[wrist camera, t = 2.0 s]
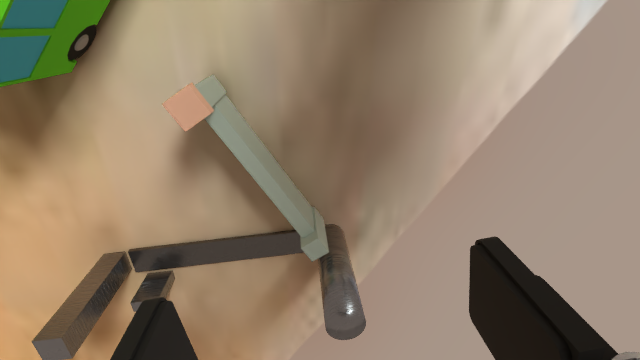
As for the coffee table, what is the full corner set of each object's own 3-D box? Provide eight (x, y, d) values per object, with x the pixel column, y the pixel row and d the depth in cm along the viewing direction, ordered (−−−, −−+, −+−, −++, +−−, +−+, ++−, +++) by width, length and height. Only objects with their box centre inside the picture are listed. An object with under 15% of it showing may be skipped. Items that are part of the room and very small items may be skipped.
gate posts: (343, 222, 33) (365, 307, 23) (345, 258, 35) (367, 351, 25) (102, 250, 33) (18, 350, 23) (117, 285, 34) (45, 392, 24)
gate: (325, 217, 32) (333, 265, 26) (307, 228, 32) (311, 278, 26) (213, 70, 26) (188, 84, 20) (193, 85, 26) (161, 104, 20)
